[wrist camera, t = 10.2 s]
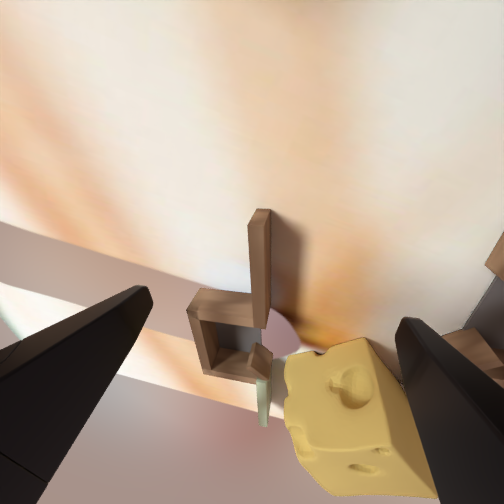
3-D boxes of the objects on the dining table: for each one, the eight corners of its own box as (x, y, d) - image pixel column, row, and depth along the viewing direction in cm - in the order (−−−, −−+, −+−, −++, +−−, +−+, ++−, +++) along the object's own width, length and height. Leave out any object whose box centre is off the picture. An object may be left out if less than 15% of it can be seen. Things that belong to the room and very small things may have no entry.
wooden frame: (671, 222, 14) (776, 254, 11) (458, 438, 30) (475, 476, 27) (182, 206, 21) (160, 222, 18) (221, 388, 37) (213, 414, 34)
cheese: (285, 354, 29) (275, 451, 21) (369, 331, 24) (401, 447, 16) (325, 398, 32) (331, 497, 24) (408, 386, 27) (451, 506, 19)
